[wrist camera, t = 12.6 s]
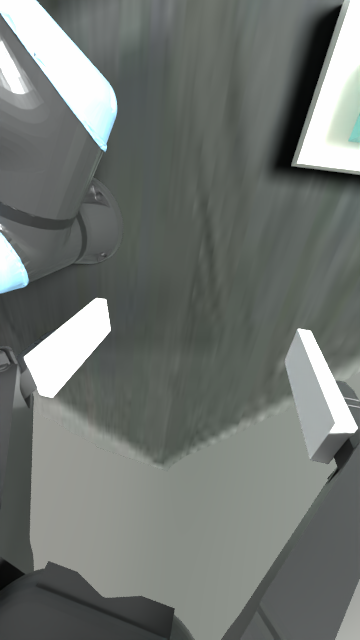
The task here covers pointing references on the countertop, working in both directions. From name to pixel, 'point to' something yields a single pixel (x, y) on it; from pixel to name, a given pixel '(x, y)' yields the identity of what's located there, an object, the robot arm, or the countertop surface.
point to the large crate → (335, 102)
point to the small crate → (355, 132)
